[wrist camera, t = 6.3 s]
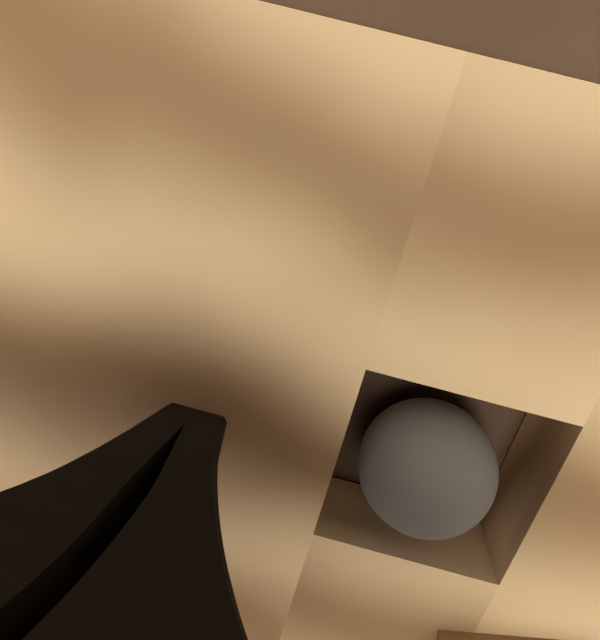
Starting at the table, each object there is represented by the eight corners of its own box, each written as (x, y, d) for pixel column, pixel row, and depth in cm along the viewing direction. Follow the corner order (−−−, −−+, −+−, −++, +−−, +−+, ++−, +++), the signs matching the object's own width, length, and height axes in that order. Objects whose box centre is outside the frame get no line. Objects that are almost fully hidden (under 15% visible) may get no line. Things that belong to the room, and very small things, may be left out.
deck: (563, 696, 17) (595, 783, 15) (-134, 503, 18) (-207, 557, 16) (910, 185, 11) (1062, 198, 8) (-207, -92, 11) (-352, -151, 9)
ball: (353, 471, 15) (469, 478, 15) (355, 568, 12) (505, 579, 12) (359, 370, 14) (487, 376, 13) (363, 449, 10) (533, 458, 10)
